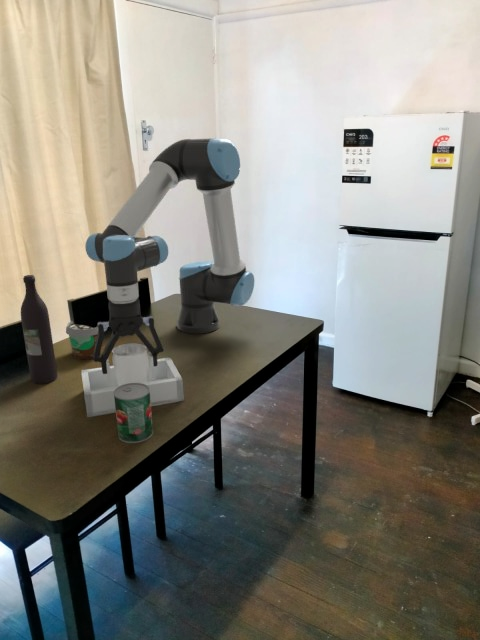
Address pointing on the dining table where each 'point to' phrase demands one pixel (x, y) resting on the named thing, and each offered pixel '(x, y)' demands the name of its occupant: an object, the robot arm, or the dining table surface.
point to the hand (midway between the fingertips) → (131, 380)
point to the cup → (130, 363)
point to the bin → (161, 388)
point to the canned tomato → (133, 412)
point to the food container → (82, 340)
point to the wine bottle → (37, 335)
